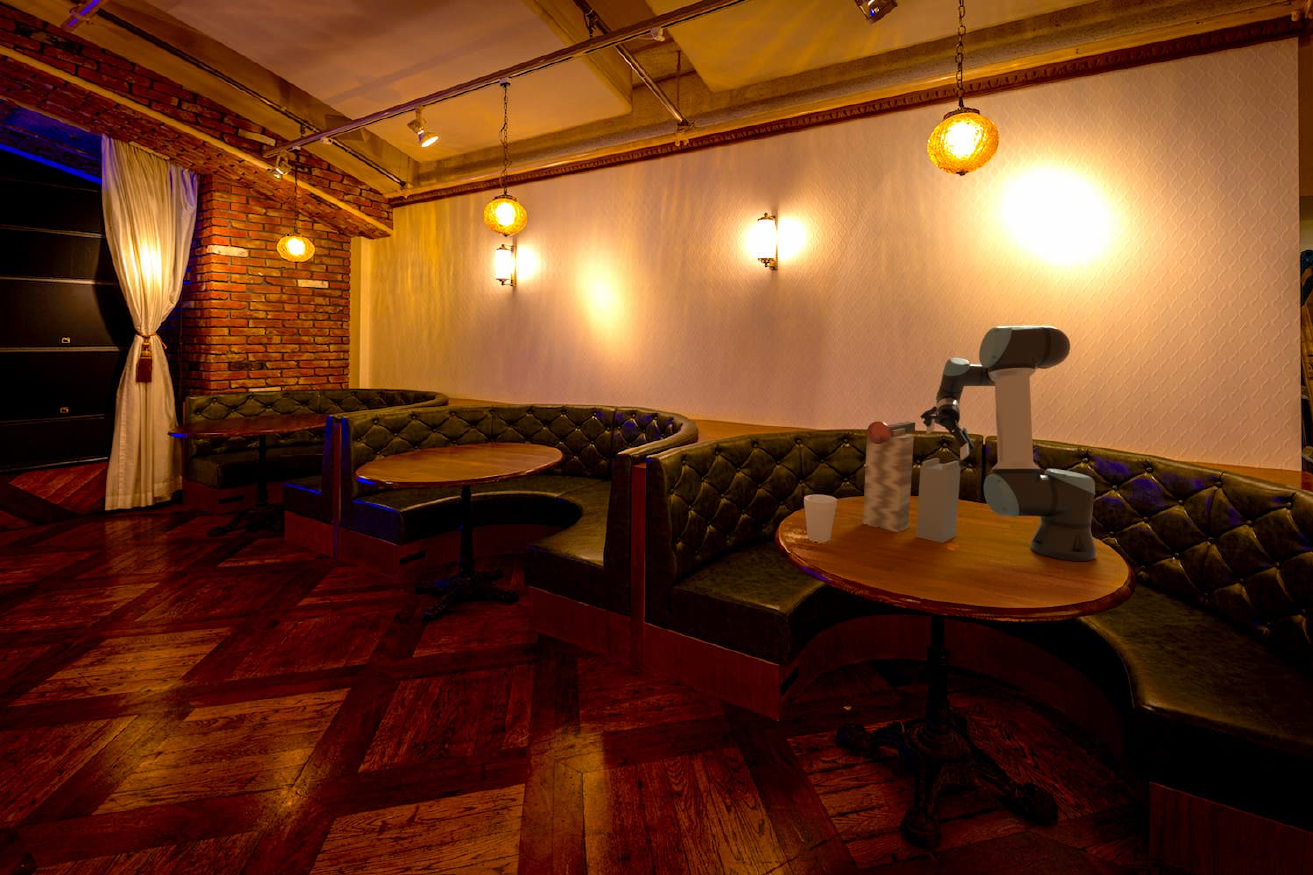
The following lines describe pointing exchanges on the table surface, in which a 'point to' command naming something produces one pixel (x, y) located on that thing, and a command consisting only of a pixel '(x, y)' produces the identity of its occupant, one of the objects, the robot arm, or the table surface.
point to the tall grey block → (938, 500)
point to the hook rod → (886, 430)
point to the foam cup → (819, 516)
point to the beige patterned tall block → (888, 482)
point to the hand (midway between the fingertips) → (947, 444)
